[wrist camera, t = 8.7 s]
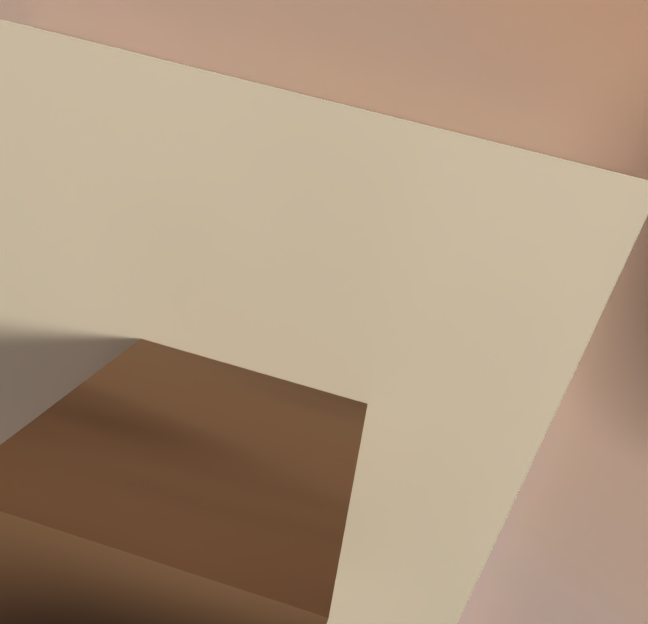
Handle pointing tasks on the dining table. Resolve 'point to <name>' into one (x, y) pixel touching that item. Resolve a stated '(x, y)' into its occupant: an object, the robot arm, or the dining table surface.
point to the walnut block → (177, 497)
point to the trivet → (308, 281)
